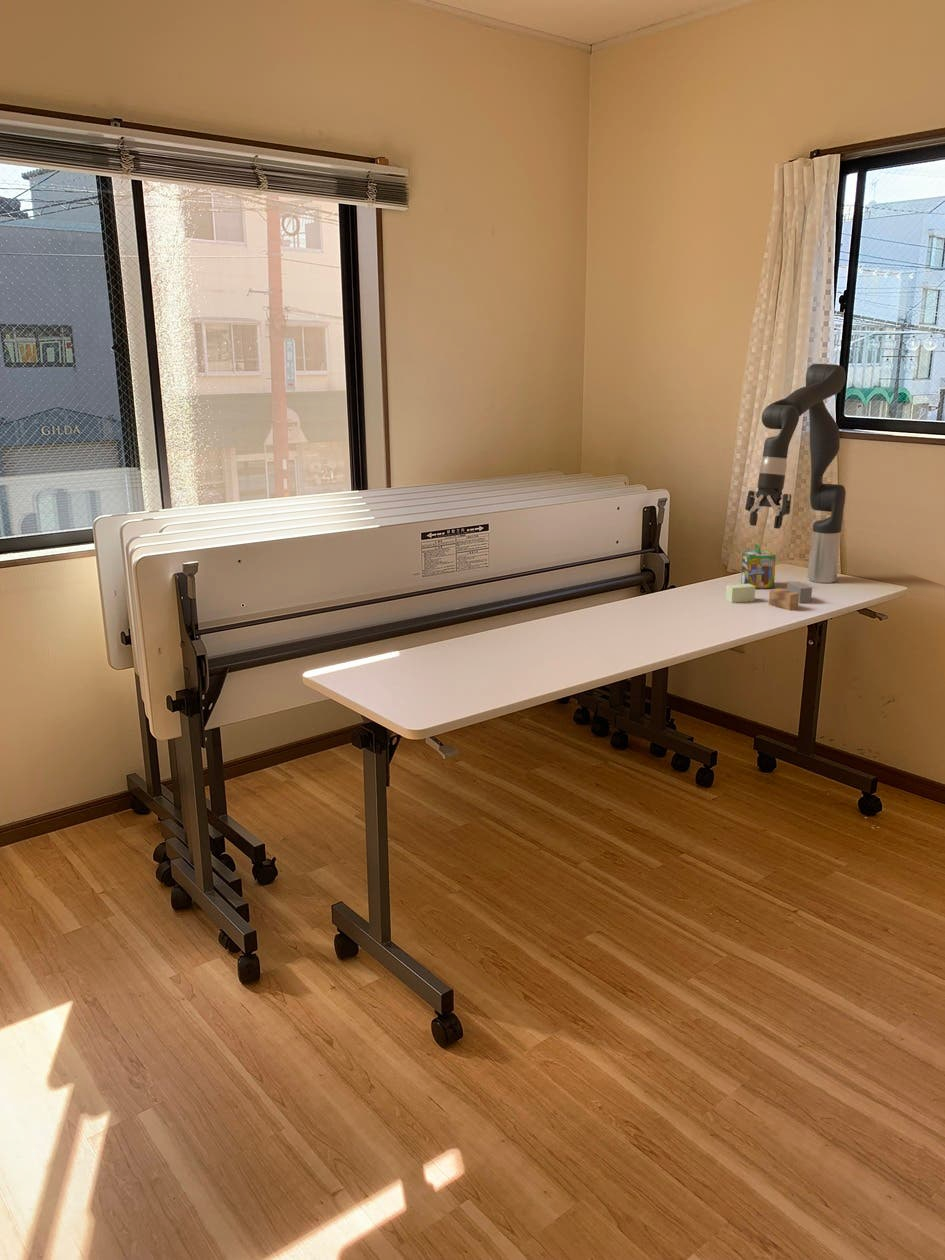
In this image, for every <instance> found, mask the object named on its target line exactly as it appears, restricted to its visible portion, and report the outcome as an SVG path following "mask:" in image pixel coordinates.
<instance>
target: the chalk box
mask: <svg viewBox="0 0 945 1260" xmlns="http://www.w3.org/2000/svg"><path fill="white" fill-rule="evenodd" d="M754 548H755V550H743V551H742V558H741V559H742V560H741V561H742V563H741V577H740V579H741V581H740V583H741V584H751V585H753V586H755V590H756V589H775V578H776V577H775V576H776V557H777V555H776V554H774V553H773V552H771V551H770V550H761V549H760V545H759V543H757V542H756V541H755V542H754Z"/></svg>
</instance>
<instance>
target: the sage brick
mask: <svg viewBox="0 0 945 1260" xmlns="http://www.w3.org/2000/svg"><path fill="white" fill-rule="evenodd" d="M755 596H756V589H755V586H753V585H751V584H742V583H741V584H727V585H726V590H725V601H727V600H728V601H727V602H729V601H730V602H729V603H731V604H734V603H733V602H738V603H749V602H748V601H750V602H755V599H756V597H755Z"/></svg>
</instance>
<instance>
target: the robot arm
mask: <svg viewBox="0 0 945 1260" xmlns="http://www.w3.org/2000/svg"><path fill="white" fill-rule="evenodd" d="M805 375H806V376H805V386H803V387H800V388H798V389H796V390H794V391H793V392H791V393H790V394H789V395H787V396H786V397H785V398H783V399H780V400H776V401H773V402H771V403H769V405H767V406H766V407H765V408H764V410H763V411H762V412H761V413H762V414H761V422H762V425H763V426H764V427H765V428H767V429H769V430H780V431H779V433H777V435H775V436H770V437H769V436H768V437H767V438H766V439H765V441H764V443H763V444H764V445H763V452H762V458H761V461H760V466H759V472H758V473H759V474H758V479H757V480H758V481H757V488H758V489H757V491H756V490H748V492H747V496H746V501H745V508H744V509H745V511H748V512H749V515H750V516H749V525H750V526H752V527H753V526H754V527H756V526H757V522H758V515H759V514H758V513H759V511H760V510H761V509H762V508H764V507H768V508H772V510H773V512H774V513H775V517H774V521H773V523H774V524H773V528H774V529H778V530H779V529H781V527H782V524H783V518H784V516H785V515H790V513H791V505H792V494H790V493H783V489H784V487H785V480H786V479H785V478H786V474H787V473H786V472H787V463H788V461H787V460H788V459H787V458H788V454H789V453H788V452H789V446H790V442H791V440H792V438H793V436H794V433H795V431H796V428H797V426H798V425H799V421H800V417H801V416H802V415H803V414H804V413H806V412H807V411H808V418H809V419H808V421H809V422H808V423H809V451H810V453H809V455H810V489H809V490H810V491H809V492H810V493H809V503H810V508H811V509H812V510H814V511H818V512H819V511H820V512H830V513H831V514H830V516H828V517H827V518H823V519H820V520H816V521H814V522H813V525H812V531H811V544H810V551H809V554H808V555H809V556H808V566H807V567H808V569H807V570H808V571H807V579H808V580H809V581H811V582H813V583H814V582H815V583H820V584H821V583H822V584H831V583H832V584H833V583H836V582H837V580H838V570H839V558H840V547H841V536H842V535H841V534H842V527H843V526H842V525H843V518H844V517H843V516H844V509H845V502H846V496H847V495H846V494H847V493H846V488H845V486H844V485H842V484H836V483H835V484H834V483H824V482H823V479H824V478H823V477H824V474H825V472H826V471H827V469H828V468H829V466H830V464H831V463H832V462H833V461H834V459H835V458H836V456H837V455H838V453H839V451H840V439H841V438H840V429H839V426H838V424H837V422H836V421H835V419H834V418H833V416H832V415H831V413H830V411H829V410H828V409H827V407H826V404H825V400H826V399H829V398H831V397H833V396H835V395H837V394H839V393H840V392H841V391H842V390H843V388H844V386H845V383H846V379H847V378H846V377H847V375H846V369H845V368H844V367H843V366H842V365H839V364H834V363H833V364H831V363H812V364H811V365H810V366H808V368H807V371H806V374H805ZM756 498H757V499H756ZM781 501H782V504H781Z"/></svg>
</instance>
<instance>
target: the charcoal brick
mask: <svg viewBox="0 0 945 1260" xmlns="http://www.w3.org/2000/svg"><path fill="white" fill-rule="evenodd" d="M786 590H787V591H792V592H796V593H799V600H798V604H808V602H811V603H812V593H813V587H812V586H810V585H807V584H804V583H802V582H800V581H797V582H795V581H794V582H787V586H786Z"/></svg>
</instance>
